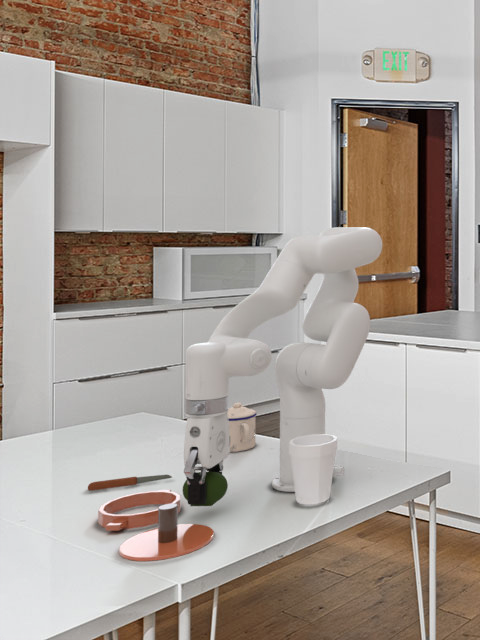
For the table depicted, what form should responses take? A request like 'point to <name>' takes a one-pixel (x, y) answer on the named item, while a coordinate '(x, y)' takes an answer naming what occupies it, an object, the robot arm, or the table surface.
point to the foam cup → (313, 467)
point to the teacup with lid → (241, 427)
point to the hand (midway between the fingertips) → (205, 496)
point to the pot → (132, 500)
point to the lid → (166, 538)
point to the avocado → (211, 488)
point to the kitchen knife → (124, 482)
